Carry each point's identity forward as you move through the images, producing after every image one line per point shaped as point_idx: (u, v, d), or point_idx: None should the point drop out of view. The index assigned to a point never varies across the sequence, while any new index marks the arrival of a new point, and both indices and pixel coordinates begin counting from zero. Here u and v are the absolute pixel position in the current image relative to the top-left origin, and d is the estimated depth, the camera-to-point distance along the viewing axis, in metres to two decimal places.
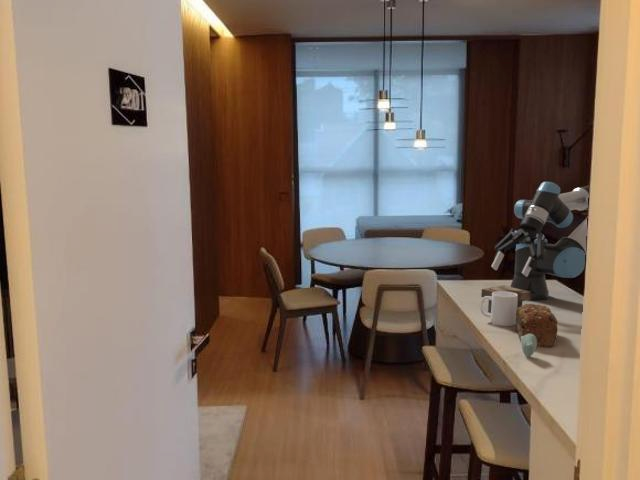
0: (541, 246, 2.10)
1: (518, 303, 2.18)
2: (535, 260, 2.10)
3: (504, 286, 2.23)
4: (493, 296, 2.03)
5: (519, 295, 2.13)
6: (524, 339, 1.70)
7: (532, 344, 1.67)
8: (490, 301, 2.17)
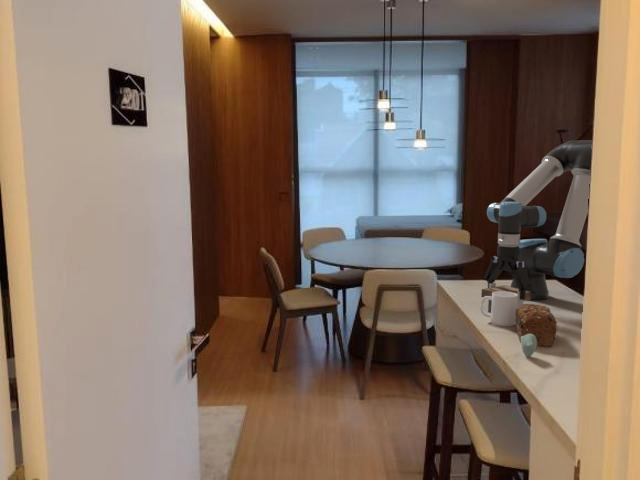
0: (524, 277, 2.10)
1: None
2: (524, 292, 2.11)
3: (504, 286, 2.23)
4: (493, 296, 2.03)
5: None
6: (524, 339, 1.70)
7: (532, 344, 1.67)
8: (490, 301, 2.17)
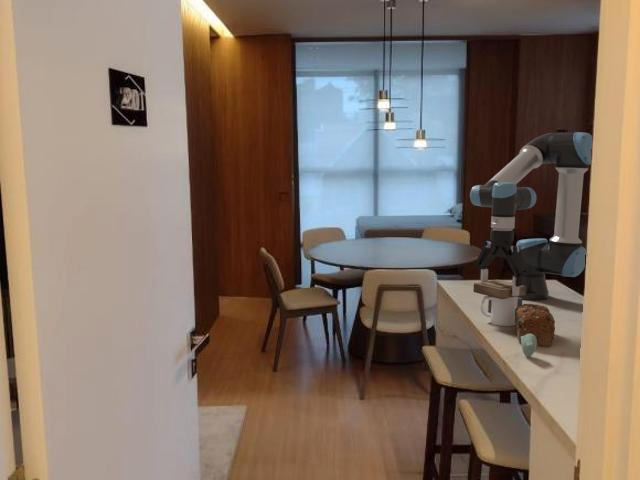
0: (520, 262, 1.95)
1: (518, 303, 2.18)
2: (520, 278, 1.96)
3: (498, 280, 2.08)
4: None
5: None
6: (524, 339, 1.70)
7: (532, 344, 1.67)
8: (490, 301, 2.17)
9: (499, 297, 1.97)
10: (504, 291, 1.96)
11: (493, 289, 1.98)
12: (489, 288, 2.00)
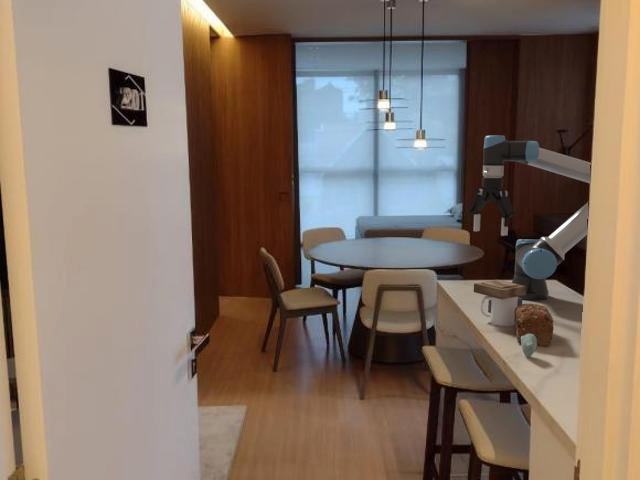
0: (508, 205, 2.21)
1: (518, 303, 2.18)
2: (508, 219, 2.22)
3: (498, 280, 2.08)
4: None
5: (514, 290, 1.99)
6: (524, 339, 1.70)
7: (532, 344, 1.67)
8: (490, 301, 2.17)
9: (499, 297, 1.96)
10: (504, 291, 1.96)
11: (493, 289, 1.98)
12: (489, 288, 2.00)
